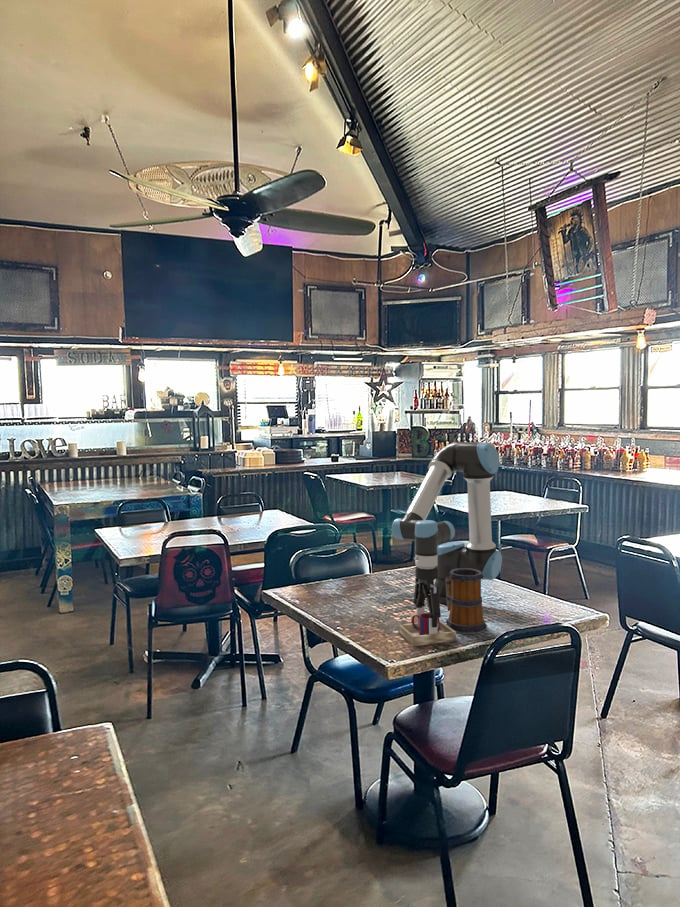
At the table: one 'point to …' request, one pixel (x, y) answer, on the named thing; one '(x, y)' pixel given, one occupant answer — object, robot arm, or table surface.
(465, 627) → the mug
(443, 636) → the wooden tray
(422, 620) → the cup
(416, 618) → the tan rounded block
